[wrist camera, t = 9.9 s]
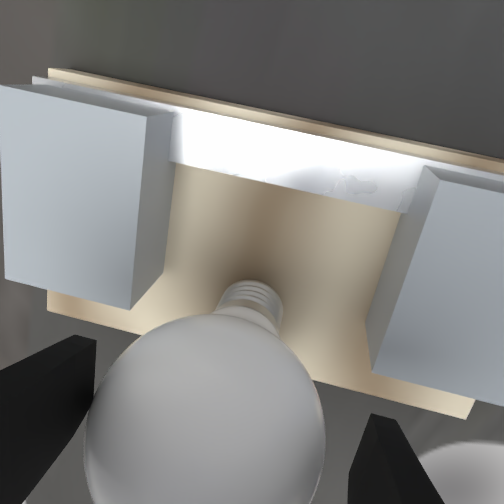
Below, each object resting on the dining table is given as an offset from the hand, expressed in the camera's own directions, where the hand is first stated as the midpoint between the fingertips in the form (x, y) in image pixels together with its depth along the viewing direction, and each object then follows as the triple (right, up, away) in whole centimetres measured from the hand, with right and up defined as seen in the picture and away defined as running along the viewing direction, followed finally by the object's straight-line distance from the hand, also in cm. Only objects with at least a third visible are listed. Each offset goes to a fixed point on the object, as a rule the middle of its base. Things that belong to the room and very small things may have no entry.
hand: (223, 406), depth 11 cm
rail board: (+2, +4, +9) cm, 10 cm away
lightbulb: (+1, +2, +8) cm, 8 cm away
